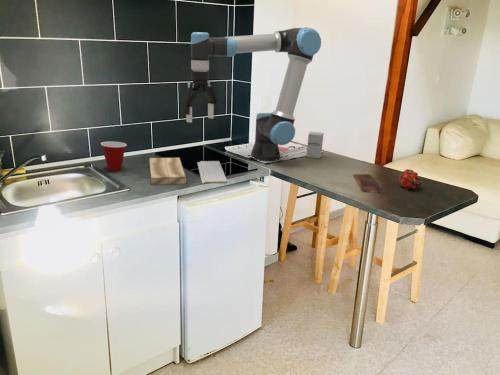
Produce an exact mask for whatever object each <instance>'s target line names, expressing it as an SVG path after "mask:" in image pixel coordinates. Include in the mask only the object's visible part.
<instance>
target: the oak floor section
mask: <svg viewBox="0 0 500 375" xmlns="http://www.w3.org/2000/svg"><path fill="white" fill-rule="evenodd" d="M149 170H150V171H149V172H150V183H151V186H155V185H157V186H159V185H163V186H164V185H185V184H187V175H186V172H185V169H184V166H183V164H182V161H181V157H149Z"/></svg>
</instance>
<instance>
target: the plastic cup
mask: <svg viewBox="0 0 500 375" xmlns="http://www.w3.org/2000/svg"><path fill="white" fill-rule="evenodd" d="M100 145H101V148H102V151H103V154H104V156H103V157H104V159H105V164H106V167H107V170H108V171H110V172H120V171H121V170H122V168H123V162H124V158H125V157H124V156H125V151H126V150H125V149H126V147H127V143H125V142H121V141H103V142H100Z"/></svg>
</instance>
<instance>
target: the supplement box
mask: <svg viewBox="0 0 500 375" xmlns="http://www.w3.org/2000/svg"><path fill="white" fill-rule="evenodd" d="M324 134H325V133H324V132H317V131H310V132H308V137H307V147H306V158H313V159H320V158H321V156H322V150H323V142H324Z"/></svg>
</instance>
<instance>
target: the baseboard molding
mask: <svg viewBox="0 0 500 375" xmlns="http://www.w3.org/2000/svg"><path fill="white" fill-rule="evenodd" d="M207 160H208V161H207ZM207 160H200V161H199V162H198V160H194V162H195V163H197V167H198V171H199V177H200V181H202V182H201V184H203V185H204V184H227V183H228V180H227V177H226V175H225V172H224V170H223V167H222V165H221V162H220V161H219V160H210V158H207Z"/></svg>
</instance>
